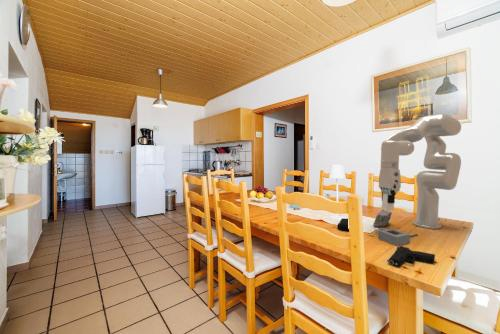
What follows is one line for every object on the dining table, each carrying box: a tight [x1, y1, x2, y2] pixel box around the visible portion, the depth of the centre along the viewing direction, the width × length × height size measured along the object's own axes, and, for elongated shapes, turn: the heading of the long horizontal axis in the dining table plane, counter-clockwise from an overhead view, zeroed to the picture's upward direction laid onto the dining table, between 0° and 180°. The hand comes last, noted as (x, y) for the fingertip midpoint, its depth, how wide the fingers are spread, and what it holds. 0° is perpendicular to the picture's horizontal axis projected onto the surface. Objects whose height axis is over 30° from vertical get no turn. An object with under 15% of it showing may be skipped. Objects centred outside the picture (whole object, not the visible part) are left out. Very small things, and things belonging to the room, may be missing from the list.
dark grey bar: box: [410, 233, 419, 239], centre depth 108 cm, size 11×1×1 cm, turn 112°
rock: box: [373, 209, 393, 228], centre depth 126 cm, size 16×8×10 cm, turn 122°
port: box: [377, 227, 411, 247], centre depth 104 cm, size 9×9×4 cm
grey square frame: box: [374, 227, 387, 235], centre depth 112 cm, size 7×7×2 cm
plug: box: [381, 189, 395, 212], centre depth 109 cm, size 4×4×10 cm
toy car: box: [336, 217, 350, 232], centre depth 123 cm, size 8×17×5 cm, turn 147°
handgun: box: [386, 245, 436, 268], centre depth 83 cm, size 3×17×12 cm
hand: (387, 201), depth 109 cm, fingers closed on plug, 3 cm apart
